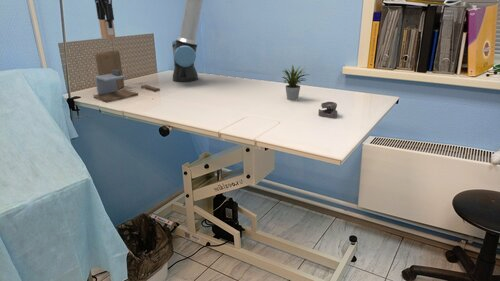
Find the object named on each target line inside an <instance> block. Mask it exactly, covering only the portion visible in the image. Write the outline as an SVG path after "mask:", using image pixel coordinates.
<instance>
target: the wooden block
mask: <svg viewBox="0 0 500 281" xmlns="http://www.w3.org/2000/svg"><path fill="white" fill-rule="evenodd" d="M94 56H95V62H96V67H97V69H96V70H97V73H98V75H97V76H100V75H106V74H112V70H113V69H115V70H119V71H120V73H121V75H122V76H124V74H123V69H122V68H123V67H122V61H121V60H122V59H121V54H120V51H119V50H102V51H99V52H96V53H95V55H94ZM116 84H117V90H121V89H123V88H124V87H125V81H124V78H122V79H117V80H116Z"/></svg>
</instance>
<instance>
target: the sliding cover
mask: <svg viewBox="0 0 500 281" xmlns="http://www.w3.org/2000/svg"><path fill="white" fill-rule="evenodd" d="M94 78H95V79H94V80H95V85H96V90H97V94H98V95H101V94H106V93H111V92H115V91H118V90H117V84H116V80H117V79H122V78H123V79H126V76H125V75H123V76H122V75H121V73H120V71H119V70H115V69H113V70H112V74H106V75H100V76H99V75H96V76H94Z"/></svg>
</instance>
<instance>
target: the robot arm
mask: <svg viewBox="0 0 500 281" xmlns="http://www.w3.org/2000/svg"><path fill="white" fill-rule="evenodd" d="M94 2H95V8H96V14H97V19H98V21H99V20H105V19H107V20H106V24H107V31H108V35H114V33H113V26H112V20H113V21H114V20H115V18H114V16H115V15H114V10H113V0H94ZM202 7H203V0H185V4H184V9H183V13H182V14H183V15H182V21H181V27H180V32H179V36H178V37H177V38H176V40H173V41H172V45H171V47H172V54H173V55H172V56H173V65H174V68H173V73H172V81H174V82H178V83H179V82H180V83H182V82H184V83H185V82H186V83H187V82H193V81H196V80H199V74H198V72H197V70H196V67H195V63H196V59H197V54H196V53H197V47H198V43H197V41H196V38H197V33H198V27H199V22H200V17H201V10H202Z"/></svg>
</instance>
